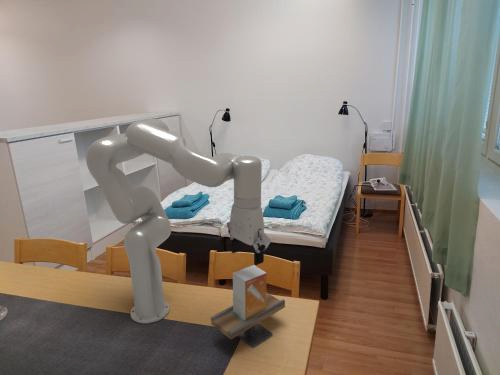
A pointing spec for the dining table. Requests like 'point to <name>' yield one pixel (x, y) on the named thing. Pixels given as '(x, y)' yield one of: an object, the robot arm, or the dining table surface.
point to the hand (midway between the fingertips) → (247, 257)
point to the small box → (249, 292)
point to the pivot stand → (255, 335)
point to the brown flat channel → (236, 325)
